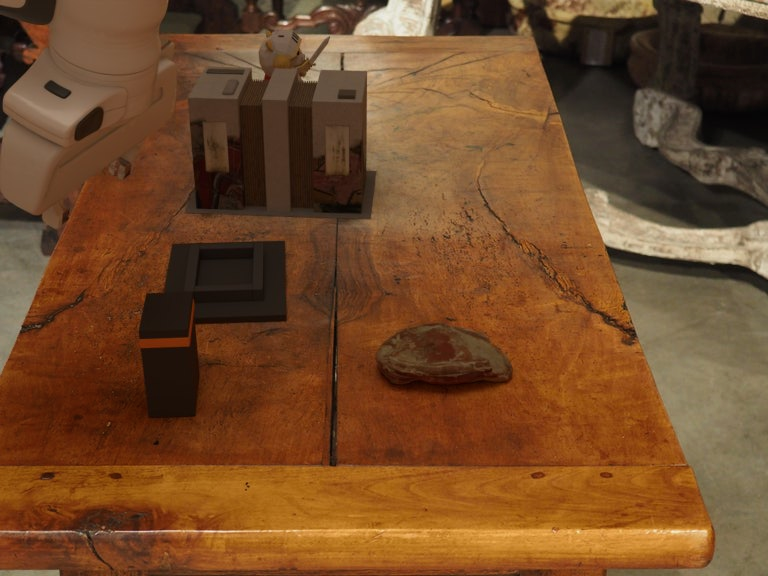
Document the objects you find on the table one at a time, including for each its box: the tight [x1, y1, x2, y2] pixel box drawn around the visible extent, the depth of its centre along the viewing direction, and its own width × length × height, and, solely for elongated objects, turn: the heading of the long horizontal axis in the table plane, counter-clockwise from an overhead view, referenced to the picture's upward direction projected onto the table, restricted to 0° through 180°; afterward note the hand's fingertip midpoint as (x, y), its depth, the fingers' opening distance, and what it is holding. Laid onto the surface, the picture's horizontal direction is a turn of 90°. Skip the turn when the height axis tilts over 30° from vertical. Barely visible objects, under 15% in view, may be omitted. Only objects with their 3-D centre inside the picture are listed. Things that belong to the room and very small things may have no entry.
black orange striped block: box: [138, 292, 201, 419], centre depth 105 cm, size 5×7×10 cm, turn 5°
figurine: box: [258, 29, 331, 83], centre depth 168 cm, size 13×11×15 cm
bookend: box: [183, 65, 377, 220], centre depth 145 cm, size 16×25×16 cm, turn 88°
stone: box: [375, 321, 514, 386], centre depth 112 cm, size 13×10×3 cm
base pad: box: [163, 240, 287, 325], centre depth 126 cm, size 14×18×2 cm
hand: (88, 197), depth 99 cm, fingers open, 8 cm apart
